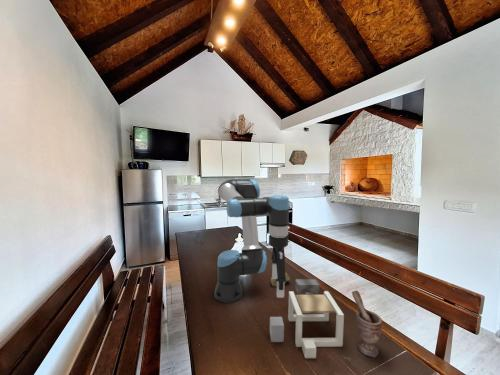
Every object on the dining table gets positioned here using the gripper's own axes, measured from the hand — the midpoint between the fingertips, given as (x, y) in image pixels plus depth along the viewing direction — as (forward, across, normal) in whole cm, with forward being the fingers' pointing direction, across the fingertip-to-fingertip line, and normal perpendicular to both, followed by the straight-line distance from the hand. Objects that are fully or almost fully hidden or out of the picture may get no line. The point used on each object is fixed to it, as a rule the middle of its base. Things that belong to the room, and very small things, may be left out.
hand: (277, 287), depth 86 cm
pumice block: (+22, -8, -11) cm, 25 cm away
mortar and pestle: (+22, -5, -33) cm, 40 cm away
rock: (+22, +42, -7) cm, 48 cm away
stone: (+22, 0, 0) cm, 22 cm away
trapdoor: (+9, +7, -16) cm, 20 cm away
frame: (+21, +3, -16) cm, 27 cm away
